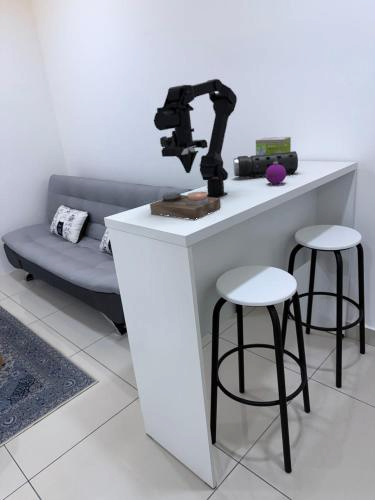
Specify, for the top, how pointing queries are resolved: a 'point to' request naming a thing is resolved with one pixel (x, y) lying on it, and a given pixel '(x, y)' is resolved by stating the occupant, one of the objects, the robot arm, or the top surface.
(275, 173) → the christmas ornament
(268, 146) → the tea box
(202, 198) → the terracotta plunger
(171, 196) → the charcoal plunger
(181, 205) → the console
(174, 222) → the top surface
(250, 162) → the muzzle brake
